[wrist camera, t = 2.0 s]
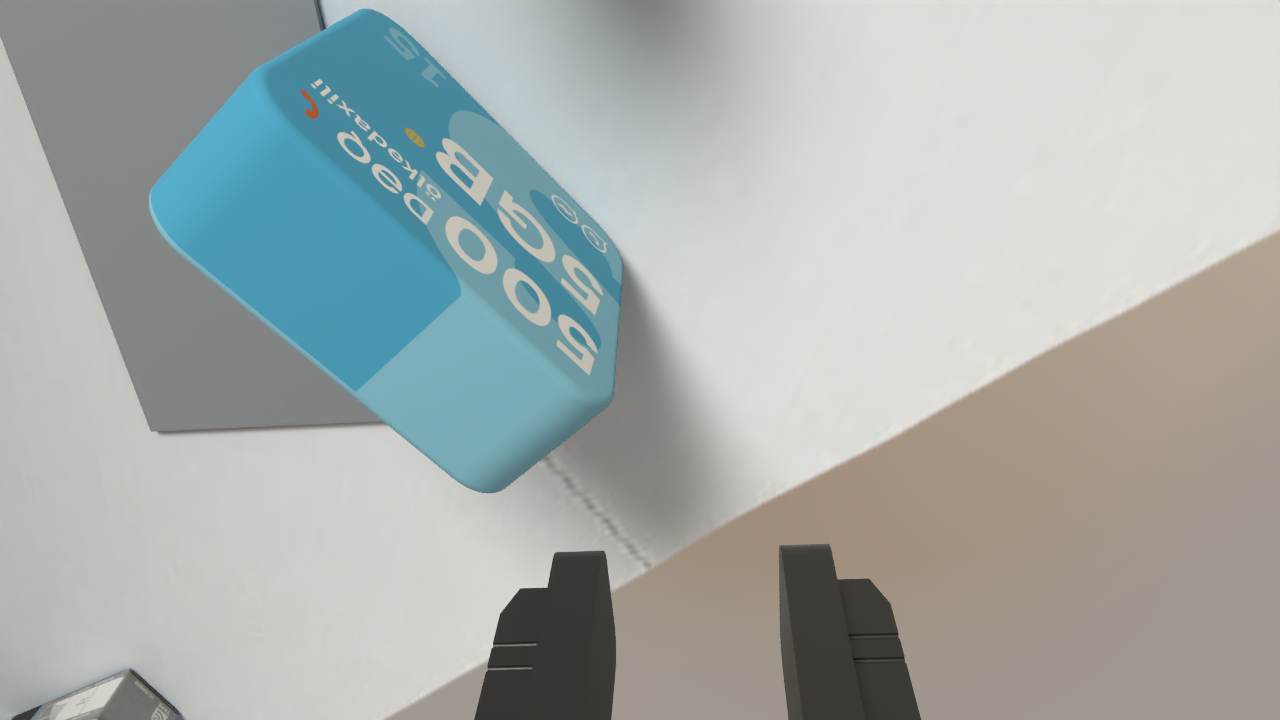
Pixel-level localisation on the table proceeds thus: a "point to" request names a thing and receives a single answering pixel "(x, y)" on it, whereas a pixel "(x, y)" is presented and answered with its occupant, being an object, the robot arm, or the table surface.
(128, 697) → the label tape cartridge
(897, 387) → the table surface
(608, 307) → the data package
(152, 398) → the mat
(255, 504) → the table surface
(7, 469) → the table surface
